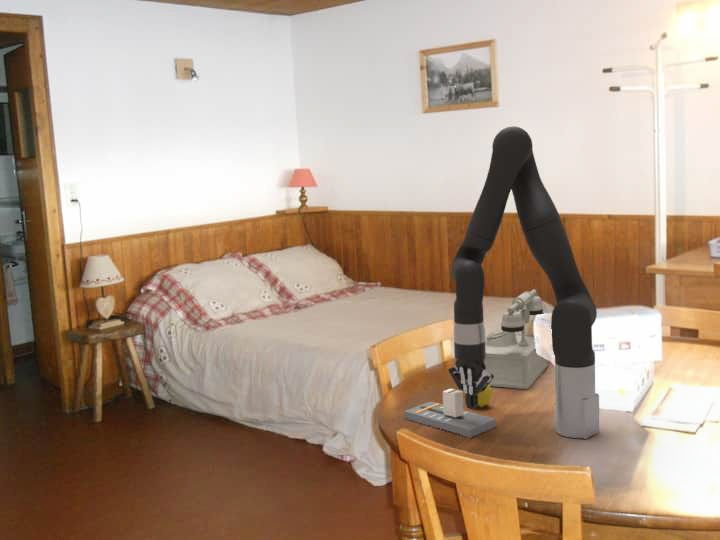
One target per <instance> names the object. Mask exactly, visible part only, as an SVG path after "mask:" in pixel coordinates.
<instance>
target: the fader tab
mask: <svg viewBox="0 0 720 540" xmlns="http://www.w3.org/2000/svg"><path fill="white" fill-rule="evenodd" d="M442 405H443V412H444V414H445V415H448V416H452V417H455V418H456V417H458V416H461V415H463V410H464V391H463V390H459V389H457V388H455V389H453V388H449V389H446V390H443V391H442Z"/></svg>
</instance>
